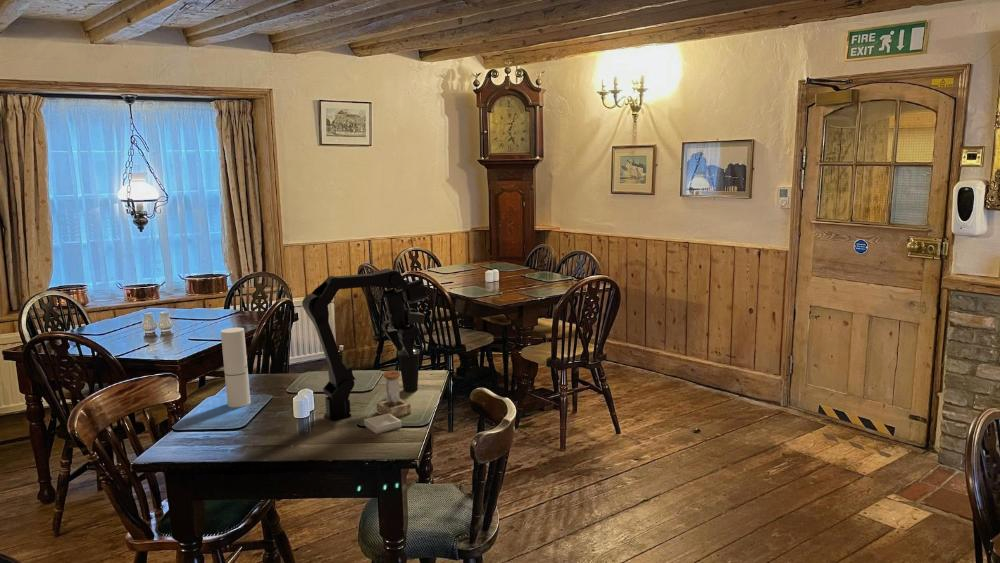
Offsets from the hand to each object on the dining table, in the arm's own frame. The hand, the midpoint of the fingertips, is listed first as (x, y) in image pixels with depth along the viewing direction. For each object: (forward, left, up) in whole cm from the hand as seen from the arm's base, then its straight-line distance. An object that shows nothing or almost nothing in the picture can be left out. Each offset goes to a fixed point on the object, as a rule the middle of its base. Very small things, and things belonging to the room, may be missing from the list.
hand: (405, 353), depth 230 cm
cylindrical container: (-44, +34, -16) cm, 58 cm away
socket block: (-8, -6, -16) cm, 19 cm away
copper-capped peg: (-8, -6, -16) cm, 19 cm away
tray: (-16, -15, -16) cm, 27 cm away
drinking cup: (+7, +10, -16) cm, 20 cm away
